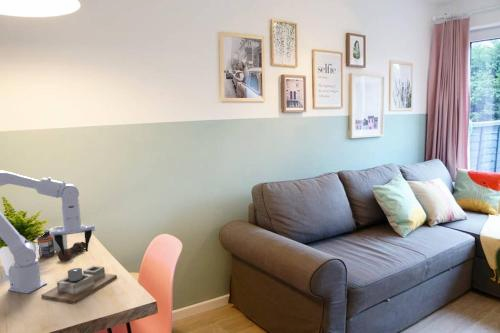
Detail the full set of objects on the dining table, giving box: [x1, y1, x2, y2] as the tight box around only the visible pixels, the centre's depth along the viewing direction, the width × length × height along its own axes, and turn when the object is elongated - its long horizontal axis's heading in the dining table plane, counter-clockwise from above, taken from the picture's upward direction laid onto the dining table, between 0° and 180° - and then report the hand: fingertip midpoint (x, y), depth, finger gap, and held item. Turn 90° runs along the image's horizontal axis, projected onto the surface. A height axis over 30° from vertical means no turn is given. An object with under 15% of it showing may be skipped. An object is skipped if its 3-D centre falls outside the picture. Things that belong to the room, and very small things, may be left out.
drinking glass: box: [49, 225, 68, 253], centre depth 169 cm, size 7×7×10 cm
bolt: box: [57, 241, 85, 262], centre depth 163 cm, size 6×5×15 cm
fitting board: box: [41, 265, 118, 304], centre depth 131 cm, size 14×20×4 cm
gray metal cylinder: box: [67, 267, 83, 283], centre depth 128 cm, size 4×4×6 cm
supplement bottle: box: [36, 229, 56, 259], centre depth 161 cm, size 6×6×11 cm
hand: (75, 252), depth 138 cm, fingers open, 7 cm apart
